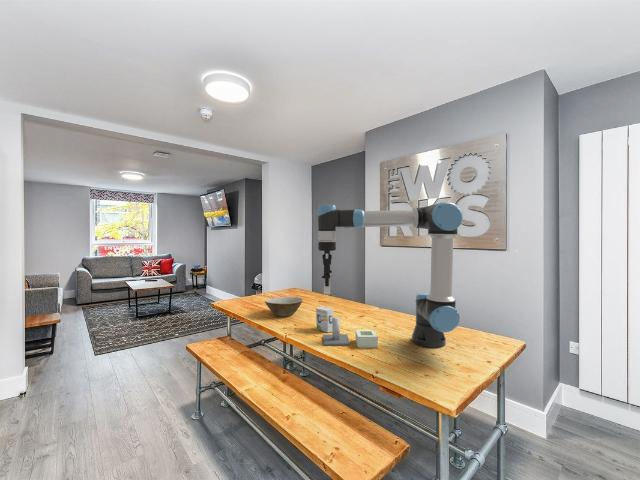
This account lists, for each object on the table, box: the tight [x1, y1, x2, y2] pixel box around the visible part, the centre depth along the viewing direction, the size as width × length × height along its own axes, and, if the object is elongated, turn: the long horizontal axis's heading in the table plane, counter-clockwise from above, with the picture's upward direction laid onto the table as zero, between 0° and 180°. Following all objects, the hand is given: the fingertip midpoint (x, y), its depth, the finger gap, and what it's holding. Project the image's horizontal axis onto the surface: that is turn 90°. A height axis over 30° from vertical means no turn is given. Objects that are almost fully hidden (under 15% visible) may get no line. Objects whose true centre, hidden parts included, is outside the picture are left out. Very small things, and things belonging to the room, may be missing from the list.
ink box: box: [315, 305, 334, 333], centre depth 161 cm, size 9×5×12 cm, turn 47°
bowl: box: [264, 296, 304, 317], centre depth 190 cm, size 24×24×10 cm
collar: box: [355, 329, 379, 349], centre depth 141 cm, size 9×9×5 cm
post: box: [322, 316, 351, 347], centre depth 145 cm, size 12×12×11 cm
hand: (327, 290), depth 129 cm, fingers open, 13 cm apart
